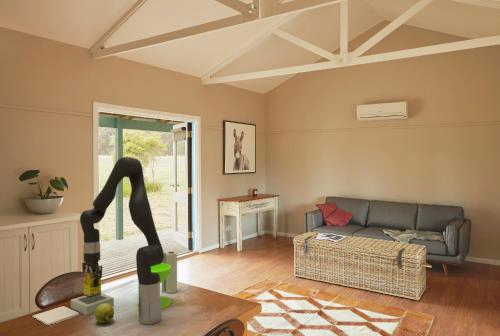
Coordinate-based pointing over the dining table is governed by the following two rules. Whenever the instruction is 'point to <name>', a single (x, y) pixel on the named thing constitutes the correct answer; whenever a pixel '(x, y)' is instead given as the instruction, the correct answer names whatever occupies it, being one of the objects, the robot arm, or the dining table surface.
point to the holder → (84, 302)
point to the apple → (104, 313)
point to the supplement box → (91, 285)
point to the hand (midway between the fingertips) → (92, 285)
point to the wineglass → (163, 272)
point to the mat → (56, 315)
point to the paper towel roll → (171, 280)
